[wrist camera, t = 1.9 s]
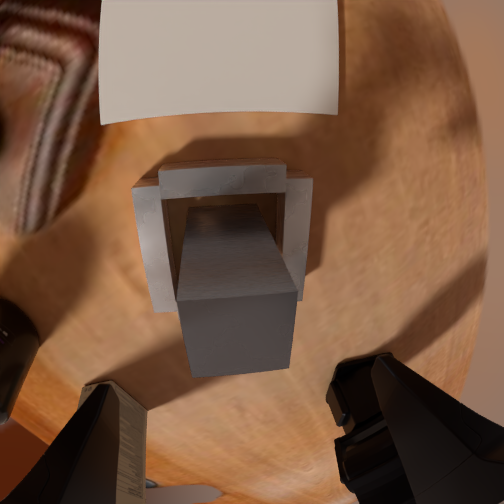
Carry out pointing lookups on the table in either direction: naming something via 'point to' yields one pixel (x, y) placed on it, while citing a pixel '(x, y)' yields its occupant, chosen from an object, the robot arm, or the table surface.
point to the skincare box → (128, 446)
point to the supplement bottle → (14, 354)
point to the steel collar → (210, 184)
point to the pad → (217, 57)
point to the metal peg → (234, 293)
